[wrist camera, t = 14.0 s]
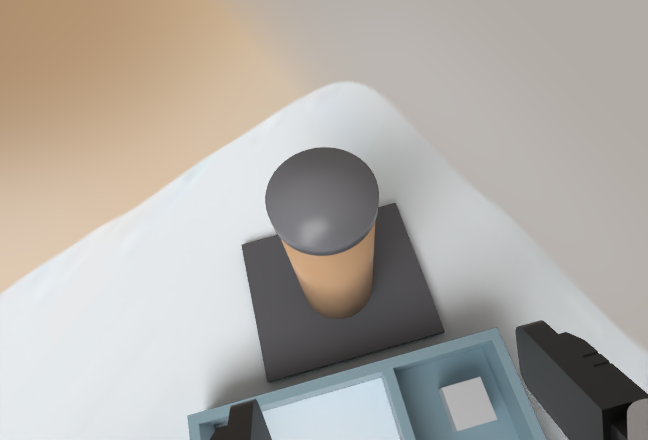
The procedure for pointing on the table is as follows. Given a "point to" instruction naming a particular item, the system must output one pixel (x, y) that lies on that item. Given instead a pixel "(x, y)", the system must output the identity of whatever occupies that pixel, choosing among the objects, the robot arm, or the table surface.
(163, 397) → the table surface
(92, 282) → the table surface
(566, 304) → the table surface
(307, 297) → the brown canister
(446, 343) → the parts tub
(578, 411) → the robot arm
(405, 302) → the black mat
